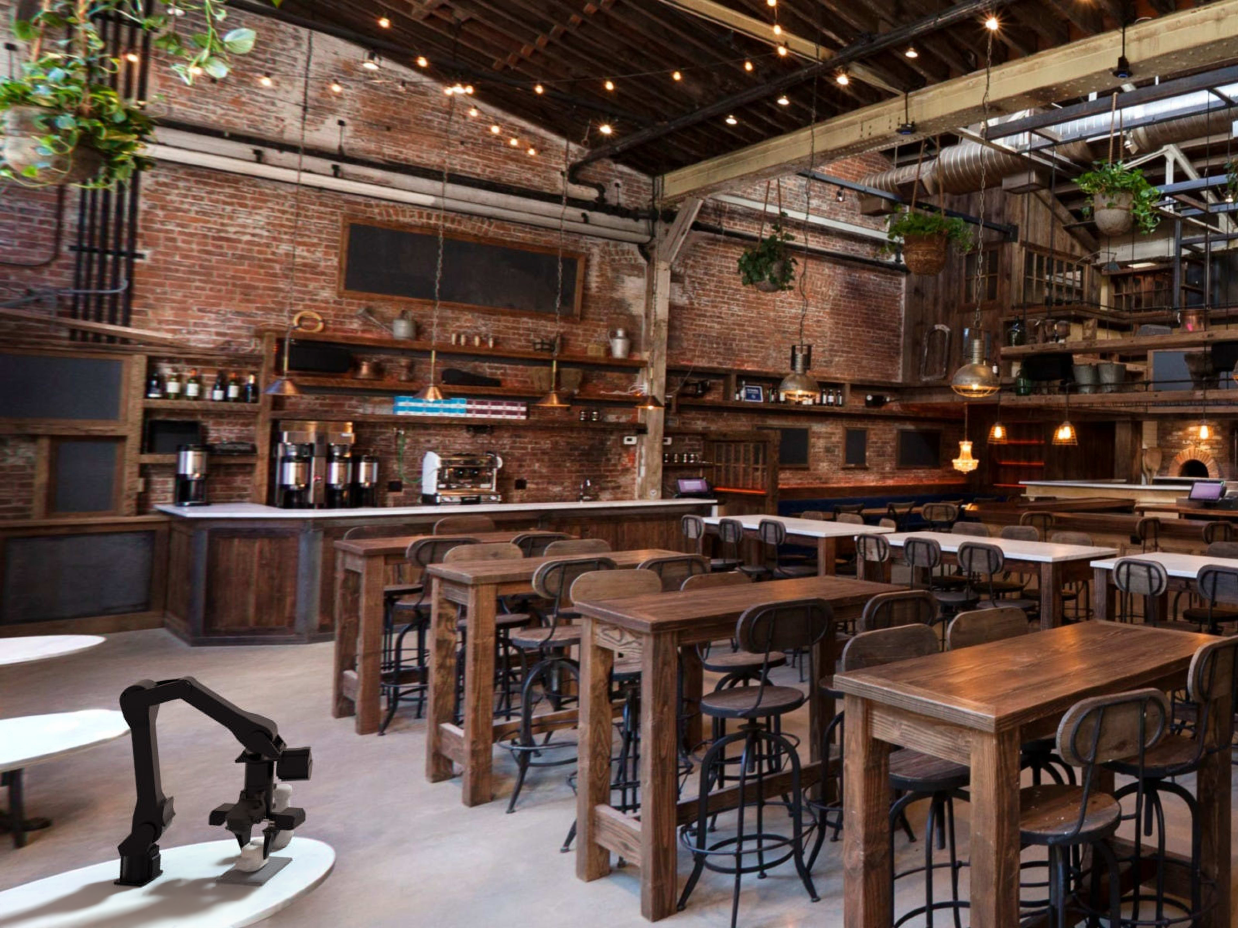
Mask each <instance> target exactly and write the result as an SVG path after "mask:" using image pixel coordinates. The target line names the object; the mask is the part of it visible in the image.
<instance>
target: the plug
mask: <svg viewBox="0 0 1238 928" xmlns="http://www.w3.org/2000/svg"><path fill="white" fill-rule="evenodd" d="M263 846H264V837H262V838H261V837H260V838H256V839H253V840H250V842H249V843H248V844H247V845H245V846H244V847H242V849H240V851H241V852H240V853H241V854H240V857H239V858H237V859H236V860H235V861H234V865H235V869H239V870H241V871H244V872H251V871H255V870H258V869H260V868H261V867H262V866H264V865H265V864H266V863H267V862H269V856H271V855H270V854H271V853H270V854H269V856H268V858H267V859H266V860H263Z"/></svg>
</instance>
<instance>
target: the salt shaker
mask: <svg viewBox="0 0 1238 928" xmlns="http://www.w3.org/2000/svg"><path fill="white" fill-rule="evenodd" d="M292 795H293V787H292V785H291V784H287V783H281V784H277V788H276V789H274V790H273V803H276V808H275V809H273V810H272V812H281V811H283V810H284V809H286V808H287V807H292V805H291V800H290V799H291V798H290V797H291V796H292ZM294 833H295V829H294V830H291V831H286V830H281V831H280V833H279V834H278V836H277V838H276V840H275V842H274V845H273V847H272V849H281V848H286V847H288V846H289V844H290V843H291V841H292V839H293V836H294Z"/></svg>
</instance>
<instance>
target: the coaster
mask: <svg viewBox="0 0 1238 928" xmlns="http://www.w3.org/2000/svg"><path fill="white" fill-rule="evenodd" d="M292 861H293V857H288V856H286V857H285V856H273V855H272V856H271V855H270V856H269V862H267V863H266V864H265V865H264V866H262V867H261V868H260V869H258V870H255V871H251V872H244V871H241V870H239V869H235V864H234V865H233V866H232V867H230V868H229V869H227V870H225V872H223V873H222V874H221V875H220V876H218V877H216V878H215V883H220V884H223V883H224V884H235V885H247V886H249V885H250V886H264V885H265V884H266V883H268V881H270V880H271V879H273V877H275V876H276V875H277V874H278V873H279V872H280V871H282V870H283V869H284V868H285V867H286V866H288V865H289V864H290V863H291V862H292Z"/></svg>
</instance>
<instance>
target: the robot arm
mask: <svg viewBox="0 0 1238 928" xmlns="http://www.w3.org/2000/svg"><path fill="white" fill-rule="evenodd" d="M118 699H119V700H118V702H119V706H120V710H121V714H122V717H123V720H124V721H125V722H126V724H127V725H128V728H129V730H130V735H131V736H130V737H131V738H130V739H131V747H132V756H133V768H134V770H133V771H134V780H135V789H136V791H135V793H136V802H135V806H134V810H133V814H132V821H131V829H130V830H131V832H130V833H129V834H128V835H127V836H126V837H125V838H124V839H123V840H122V841H121V842H120V843H119V845H117V851H118V853H119V857H120V862H119V877H117V878H116V879H115V880H113V884H114V885H123V886H137V887H143V886H145V885H147V884H149V883H150V882H152V881H153V880H154V879H156V878H157V877H159V876H160V875H162V874H163V873H164V869H161V863H162V862H161V859H162V854H161V853H160V844H156V843H157V841H158V840H160V839H161V837H162V836H163V835H164V833H165V832H166V831H167V830H168V829H169V828H170V827H171V825H172V823H173V819H174V817H176V816H177V814H176V811H175V809H174V796H169V797H166V795H165V794H164V792H163V789H162V780H161V768H160V758H159V757H160V756H159V748H158V747H159V746H158V738H157V737H158V736H157V735H158V734H157V725H156V724H157V723H156V722H157V718H158V715H159V711H160V708H161V707H160V706H161V704H164V703H168V702H172V701H175V700H182V701H184V702H185V703H187V704H188V705H190V706H192V707H193V708H195V709H196V710H198V711H199V712H201V713H203V714H205V715H206V716H208V717H209V718H210V719H212V720H214V721H215V722H217V723H218V724H219V725H221V726H223V727H224V728H226V729H228V730H229V731H230V732H231V733H232V735H233V736H234V737H235V739H236V740H237V741H238V743H240V744H241V745H242V746H243V747H244V749H243V750H242V751H241V753H240V754H239V755H238V756H237V757H236V758H235V759H234V763H235V764H244V781H243V784H244V785H243V789H241V790H239V791H240V793H239V794H238V795H239V796H238V797H239V798H238V800H237V802H236V803H232V802H231V803H229V802H224V803H222V804H221V805H219V806H217V807H215V808H213V809H212V810H211V811H210V812H209V815H208V817H207V818H208V820H207V821H208V823H207V824H208V826H211V827H212V826H215V827H216V826H217V827H221V826H223V825H224V824H225V823H226V826H225V827H224V829H225V831H229V832H231V833H232V834H234V837H235V839H236V840H237V841H236V842H237V843H238V847H239V848H240V850H241V849H242V847H244V846H245V845H247V844H248V843H249V842H251V841H252V840H251V839H252V828H253V826H254V825H260V824H261V823H262V822H264V823H265V822H267V826H266V827H264V829H262V830H261V833H262V834H263V836H264V837H263V838H264V846H263V860H266V859H267V858H268V856H269V854H271V851H272V849H273V848H272V847H273V845H274V842H275V840H276V838H277V836H278V834H279V833H280V831H281V830H286V831H291V830H294V831H295V829H296V828H298V827H299V826H300V825H302V824H303V823H305V822H306V820H307V819H306V816H307V815H306V814H307V813H306V811H305V809H304V808H303V807H296V806H295V807H293V806H291V807H287V808H286V809H284V810H283V811H281V812H272V810H273V809H275V808H276V803H274V798H273V790H274V789H276V788H277V785H278V783H276V782H275V776H276V777H277V779H278V780H280V782H281V783H284V782H285V783H286V782H301V781H302V782H303V781H307V782H308V781H310V780H311V778H312V774H313V773H312V772H313V765H314V762H313V761H314V760H313V757H312V747H311V746H303V747H288V744H287V743H286V742H285V741H284V739H283V738H282V736H281V735H280V734H279V729H278V724H277V722H275V721H274V720H272V719H270V718H268V717H266V716H263V715H260V714H258V713H254V712H249V711H247V710H243V709H242V708H240V707H239V706H237V705H236V704H234V703H232V702H231V701H229V700H227V699H226V698H224V697H223V696H222V695H220V694H218V693H216V692H215V691H214V690H212V689H210V688H209V687H207V686H206V685H204V684H203V683H201V682H199V681H198V680H197V679H196V678H195V677H194V676H191V675H186V676H182V677H177V678H170V679H163V680H156V681H155V680H152V679H147V678H144V679H141V680H138V681H136V682H134V683H133V684H131V685H129V686H128V687H126V688H125V689H124V690H123V691H122V692H121V694H120V695H119V698H118ZM275 762H276V764H275ZM275 765H276V766H275Z"/></svg>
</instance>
